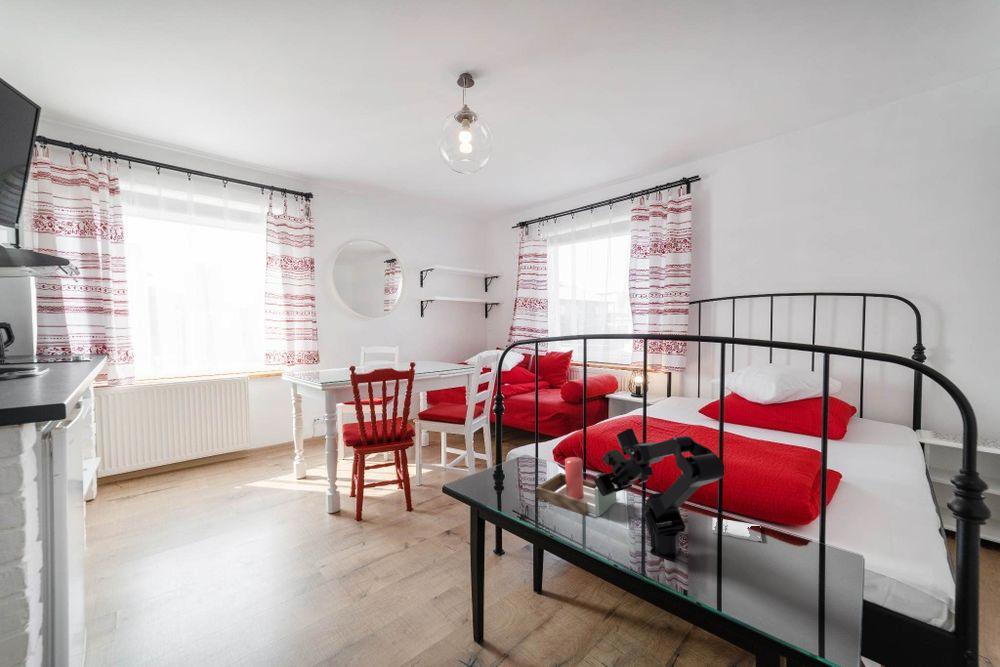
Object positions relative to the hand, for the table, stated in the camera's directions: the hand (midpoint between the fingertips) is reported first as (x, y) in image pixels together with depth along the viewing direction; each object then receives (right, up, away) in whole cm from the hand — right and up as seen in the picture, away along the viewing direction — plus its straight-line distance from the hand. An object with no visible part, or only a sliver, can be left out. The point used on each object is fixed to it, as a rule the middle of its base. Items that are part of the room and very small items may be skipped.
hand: (609, 489), depth 138 cm
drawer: (-10, -7, +9) cm, 15 cm away
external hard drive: (+33, -7, -16) cm, 37 cm away
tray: (-8, -7, +7) cm, 12 cm away
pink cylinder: (-10, -6, +9) cm, 14 cm away
